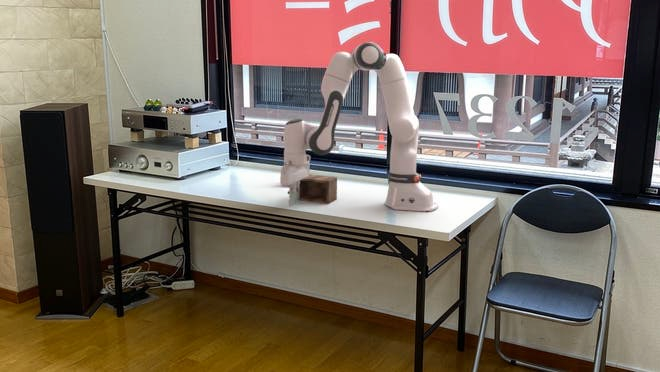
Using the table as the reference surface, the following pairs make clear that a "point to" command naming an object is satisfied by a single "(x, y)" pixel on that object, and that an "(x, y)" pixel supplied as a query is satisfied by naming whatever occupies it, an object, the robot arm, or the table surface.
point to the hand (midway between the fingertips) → (295, 191)
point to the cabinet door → (293, 195)
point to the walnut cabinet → (318, 189)
